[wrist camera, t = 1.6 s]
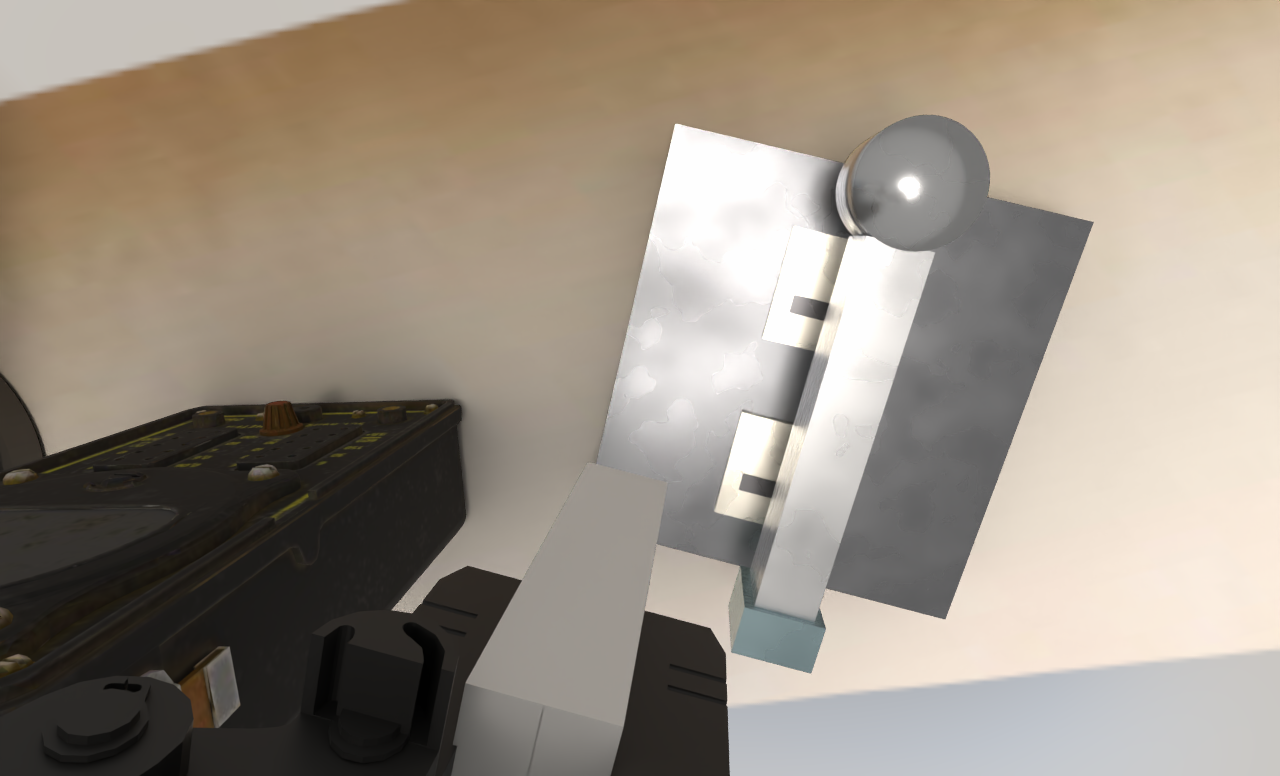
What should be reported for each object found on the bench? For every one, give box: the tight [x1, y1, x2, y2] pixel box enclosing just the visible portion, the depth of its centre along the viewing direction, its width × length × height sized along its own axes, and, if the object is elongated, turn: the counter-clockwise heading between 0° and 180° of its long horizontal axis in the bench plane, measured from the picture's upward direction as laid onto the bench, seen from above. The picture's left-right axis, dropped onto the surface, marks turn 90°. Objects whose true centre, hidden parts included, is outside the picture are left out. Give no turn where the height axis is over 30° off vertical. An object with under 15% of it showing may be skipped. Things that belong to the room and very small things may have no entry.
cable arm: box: [729, 115, 990, 673], centre depth 27 cm, size 4×21×4 cm, turn 167°
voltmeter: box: [0, 400, 466, 729], centre depth 26 cm, size 16×9×25 cm, turn 93°
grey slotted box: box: [596, 124, 1094, 619], centre depth 32 cm, size 18×20×6 cm
